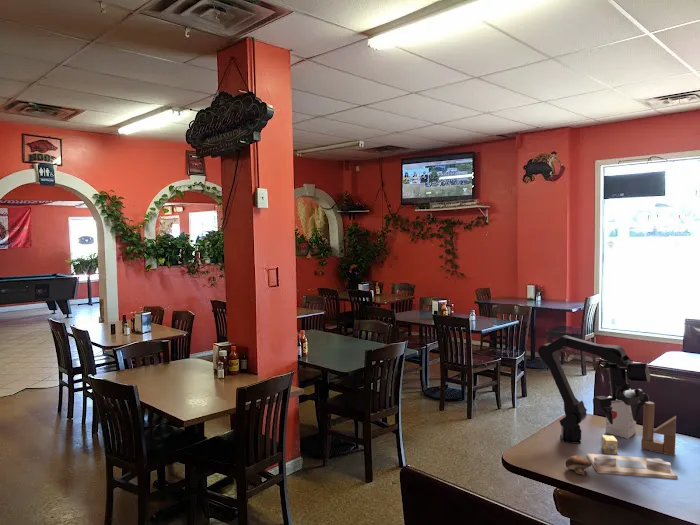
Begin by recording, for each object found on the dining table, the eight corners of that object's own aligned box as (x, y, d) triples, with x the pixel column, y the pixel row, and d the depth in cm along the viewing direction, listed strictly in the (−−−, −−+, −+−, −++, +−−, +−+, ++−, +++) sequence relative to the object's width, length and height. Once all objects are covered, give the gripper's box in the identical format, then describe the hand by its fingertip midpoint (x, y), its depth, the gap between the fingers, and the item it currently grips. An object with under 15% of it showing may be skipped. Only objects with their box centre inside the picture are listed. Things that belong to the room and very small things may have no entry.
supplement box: (604, 432, 211) (605, 396, 210) (613, 426, 217) (614, 392, 216) (628, 439, 204) (629, 402, 203) (636, 433, 211) (637, 397, 210)
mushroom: (589, 471, 170) (584, 452, 174) (564, 475, 174) (560, 455, 178) (596, 475, 175) (591, 456, 179) (572, 478, 179) (568, 460, 183)
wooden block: (674, 456, 189) (676, 408, 188) (641, 449, 195) (642, 402, 194) (674, 452, 192) (676, 405, 191) (642, 445, 198) (643, 400, 197)
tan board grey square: (597, 472, 176) (597, 463, 176) (587, 456, 189) (587, 447, 189) (677, 478, 172) (677, 469, 172) (661, 461, 185) (661, 452, 185)
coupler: (617, 455, 190) (618, 441, 190) (606, 454, 191) (606, 441, 191) (612, 447, 197) (612, 434, 196) (600, 446, 198) (601, 434, 197)
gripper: (606, 387, 182) (612, 432, 182) (656, 381, 184) (661, 425, 183) (589, 381, 193) (594, 423, 193) (636, 375, 195) (641, 417, 194)
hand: (623, 422), depth 190 cm, fingers open, 9 cm apart
